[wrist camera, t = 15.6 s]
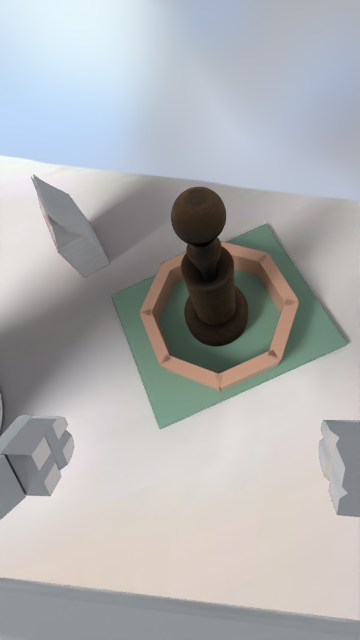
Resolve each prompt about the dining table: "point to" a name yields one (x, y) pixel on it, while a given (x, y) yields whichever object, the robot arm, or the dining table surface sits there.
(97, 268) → the tea bag
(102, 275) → the dining table surface
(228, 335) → the brown wooden chess piece
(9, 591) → the robot arm
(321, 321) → the green mat
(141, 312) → the pink octagonal ring
